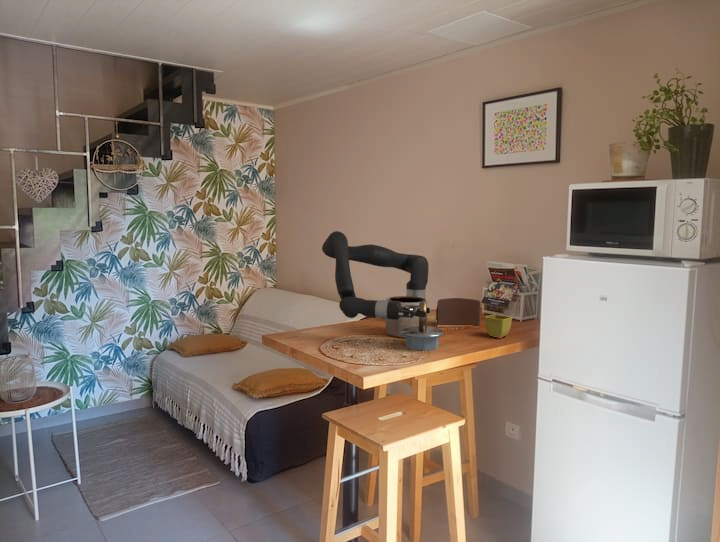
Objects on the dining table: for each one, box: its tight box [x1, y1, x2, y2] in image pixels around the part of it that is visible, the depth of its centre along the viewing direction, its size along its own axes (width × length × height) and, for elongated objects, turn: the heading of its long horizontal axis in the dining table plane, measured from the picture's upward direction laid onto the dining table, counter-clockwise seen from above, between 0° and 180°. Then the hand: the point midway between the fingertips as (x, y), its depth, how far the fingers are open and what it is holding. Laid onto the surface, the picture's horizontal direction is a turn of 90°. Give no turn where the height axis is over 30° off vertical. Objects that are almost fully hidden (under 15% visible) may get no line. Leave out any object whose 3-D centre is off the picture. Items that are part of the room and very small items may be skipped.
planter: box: [385, 295, 427, 339], centre depth 240 cm, size 18×18×16 cm
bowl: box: [405, 336, 440, 352], centre depth 218 cm, size 12×12×6 cm
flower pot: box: [484, 313, 513, 337], centre depth 236 cm, size 9×9×9 cm
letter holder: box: [435, 297, 482, 327], centre depth 259 cm, size 10×20×14 cm, turn 85°
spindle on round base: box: [401, 300, 445, 338], centre depth 217 cm, size 17×17×13 cm
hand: (427, 312), depth 217 cm, fingers open, 8 cm apart
